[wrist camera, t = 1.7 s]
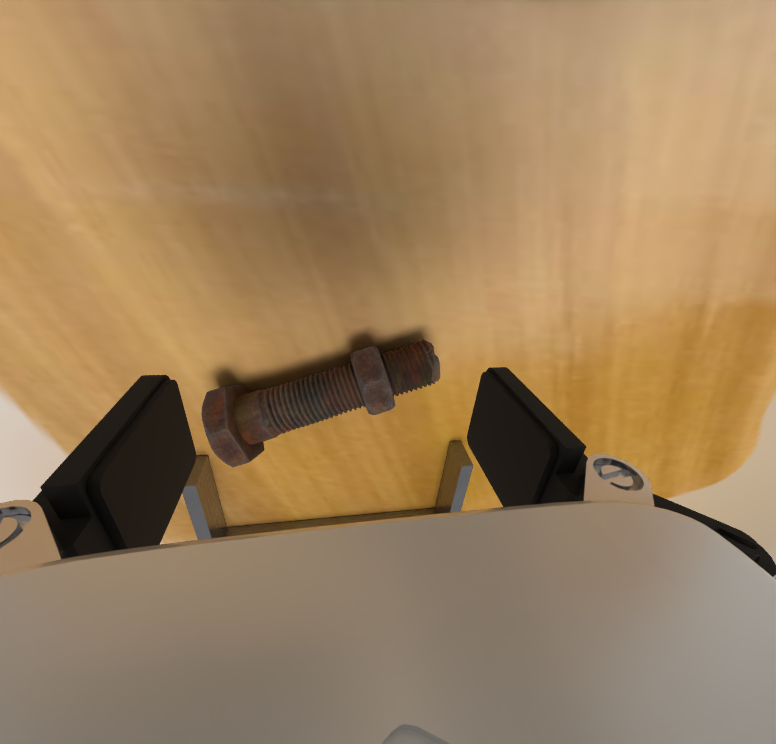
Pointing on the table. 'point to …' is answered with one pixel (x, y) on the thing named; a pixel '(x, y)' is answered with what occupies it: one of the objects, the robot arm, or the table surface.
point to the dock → (212, 523)
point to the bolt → (313, 399)
